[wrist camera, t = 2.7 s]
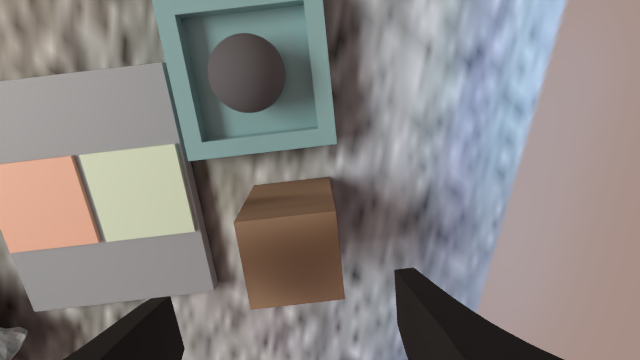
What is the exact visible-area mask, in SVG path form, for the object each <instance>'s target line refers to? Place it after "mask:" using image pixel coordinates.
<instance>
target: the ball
mask: <svg viewBox="0 0 640 360" xmlns="http://www.w3.org/2000/svg"><path fill="white" fill-rule="evenodd" d="M285 78H286V73H285V66H284V63H283V60H282V57H281V55H280V54H279V52H278V51H277V49H276V48H275V47H274V46H273V45H272V44H271V43H270V42H269V41H267V40H266V39H264V38H262V37H260V36H258V35H255V34H250V33H238V34H234V35H231V36H229V37H227V38H225V39H223V40H222V41H221V42H220V43H219V44H218V45H217V46H216V47H215V48H214V50H213V52H212V53H211V56H210V58H209V62H208V79H209V83H210V86H211V88H212V90H213V92H214V94H215V95H216V96H217V98H218V99H219V100H220V101H221V102H222V103H223V104H225V105H226V106H228V107H229V108H231V109H233V110H236V111H238V112H243V113H255V112H260V111H263V110H265V109H267V108H268V107H270V106H271V105H273V104H274V103H275V102H276V101H277V99H278V98H279V97H280V95H281V93H282V91H283V88H284V85H285Z"/></svg>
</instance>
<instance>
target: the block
mask: <svg viewBox="0 0 640 360" xmlns="http://www.w3.org/2000/svg"><path fill="white" fill-rule="evenodd" d="M234 226H235V231H236V237H237V242H238V247H239V252H240V257H241V262H242V267H243V272H244V277H245V282H246V288H247V293H248V298H249V303H250V308H251V310H252V309H261V308H270V307H278V306H287V305H296V304H305V303H314V302H323V301H332V300H341V299H345V295H344V285H343V276H342V266H341V256H340V247H339V237H338V227H337V218H336V210H335V205H334V200H333V195H332V190H331V185H330V180H329V177H323V178H315V179H306V180H297V181H289V182H280V183H271V184H262V185H254V187H253V188H252V190H251V192H250V194H249V196H248V197H247V199H246V201H245V203H244V205H243V207H242V208H241V210H240V212H239V214H238V216H237V218H236V219H235V221H234Z"/></svg>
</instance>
